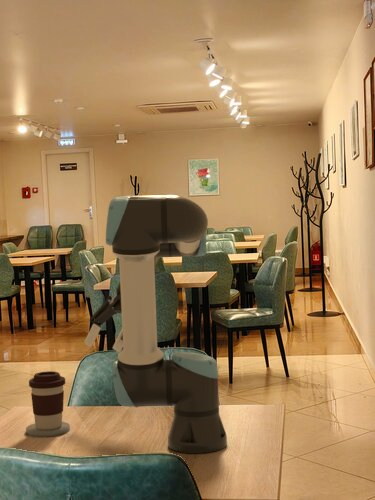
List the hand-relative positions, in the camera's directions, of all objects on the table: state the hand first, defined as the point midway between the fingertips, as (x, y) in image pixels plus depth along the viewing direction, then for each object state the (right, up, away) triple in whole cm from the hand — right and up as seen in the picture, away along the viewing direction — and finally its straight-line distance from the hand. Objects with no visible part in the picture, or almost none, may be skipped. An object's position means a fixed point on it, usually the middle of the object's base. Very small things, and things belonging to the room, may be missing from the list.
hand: (101, 347), depth 214 cm
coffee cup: (-14, -21, -10) cm, 27 cm away
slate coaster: (-14, -22, -10) cm, 28 cm away
